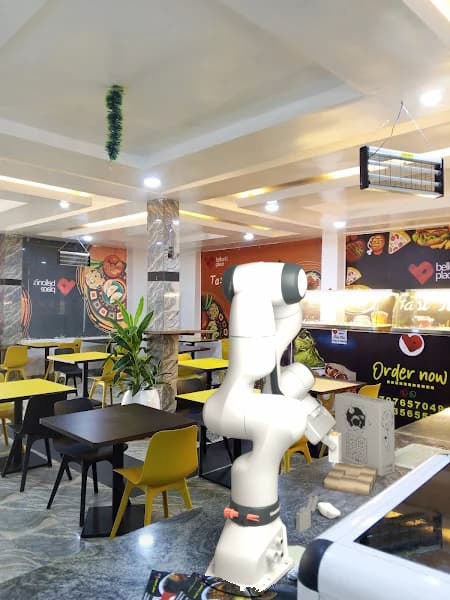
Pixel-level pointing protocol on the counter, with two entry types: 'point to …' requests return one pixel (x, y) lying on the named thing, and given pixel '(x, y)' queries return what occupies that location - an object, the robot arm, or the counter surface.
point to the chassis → (351, 478)
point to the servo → (336, 453)
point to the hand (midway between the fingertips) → (337, 445)
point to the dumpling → (328, 510)
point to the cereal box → (366, 431)
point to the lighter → (306, 514)
